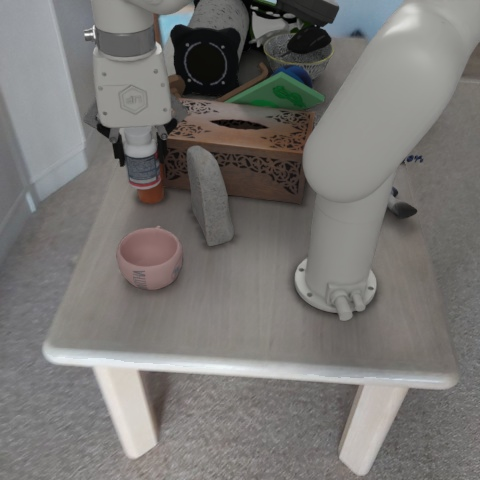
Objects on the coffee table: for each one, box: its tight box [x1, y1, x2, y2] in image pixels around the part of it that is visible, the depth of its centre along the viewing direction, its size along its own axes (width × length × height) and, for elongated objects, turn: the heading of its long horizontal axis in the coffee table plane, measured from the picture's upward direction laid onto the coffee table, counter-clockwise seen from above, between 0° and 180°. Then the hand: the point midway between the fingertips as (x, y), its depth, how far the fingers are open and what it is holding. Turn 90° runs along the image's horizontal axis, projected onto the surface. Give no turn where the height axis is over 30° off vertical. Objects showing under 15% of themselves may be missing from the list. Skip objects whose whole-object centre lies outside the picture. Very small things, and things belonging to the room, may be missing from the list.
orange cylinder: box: [136, 155, 165, 204], centre depth 99 cm, size 5×5×8 cm
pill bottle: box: [123, 126, 161, 190], centre depth 85 cm, size 5×5×9 cm
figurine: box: [249, 12, 304, 47], centre depth 133 cm, size 8×15×12 cm
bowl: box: [263, 33, 335, 81], centre depth 130 cm, size 16×16×8 cm
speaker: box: [169, 0, 253, 97], centre depth 129 cm, size 15×29×15 cm, turn 173°
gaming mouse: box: [281, 25, 332, 57], centre depth 125 cm, size 6×15×4 cm, turn 133°
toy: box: [225, 71, 326, 111], centre depth 105 cm, size 22×3×10 cm
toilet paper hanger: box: [168, 61, 269, 102], centre depth 121 cm, size 25×9×8 cm, turn 127°
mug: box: [116, 225, 184, 291], centre depth 86 cm, size 12×10×6 cm
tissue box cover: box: [163, 97, 316, 205], centre depth 103 cm, size 26×14×10 cm, turn 79°
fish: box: [387, 186, 418, 219], centre depth 102 cm, size 23×4×10 cm
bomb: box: [270, 65, 314, 90], centre depth 121 cm, size 10×11×15 cm
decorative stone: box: [187, 146, 235, 247], centre depth 91 cm, size 11×6×15 cm, turn 21°
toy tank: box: [250, 0, 316, 53], centre depth 142 cm, size 9×25×10 cm
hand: (141, 159), depth 86 cm, fingers closed on pill bottle, 5 cm apart
